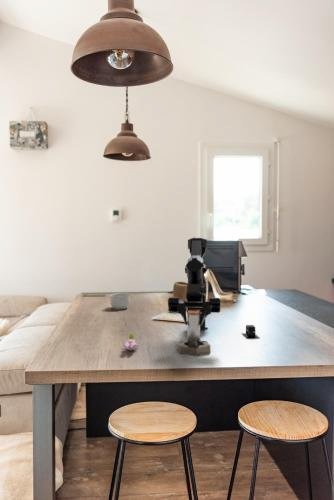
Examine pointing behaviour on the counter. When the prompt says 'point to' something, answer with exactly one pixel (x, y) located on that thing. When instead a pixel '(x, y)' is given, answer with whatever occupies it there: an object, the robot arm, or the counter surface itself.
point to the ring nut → (193, 348)
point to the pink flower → (131, 343)
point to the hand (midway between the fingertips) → (193, 324)
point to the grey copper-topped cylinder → (193, 327)
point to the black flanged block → (250, 332)
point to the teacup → (120, 300)
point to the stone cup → (180, 290)
